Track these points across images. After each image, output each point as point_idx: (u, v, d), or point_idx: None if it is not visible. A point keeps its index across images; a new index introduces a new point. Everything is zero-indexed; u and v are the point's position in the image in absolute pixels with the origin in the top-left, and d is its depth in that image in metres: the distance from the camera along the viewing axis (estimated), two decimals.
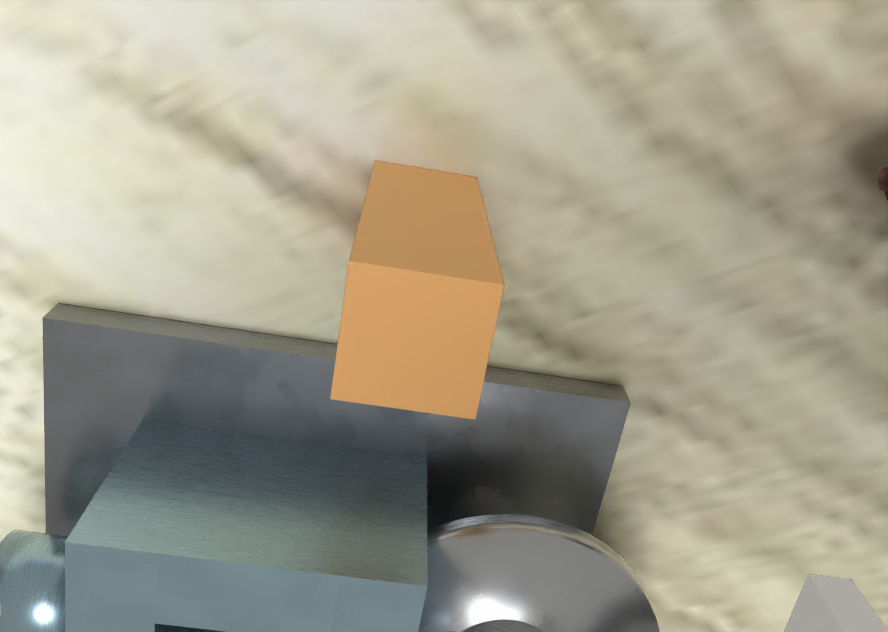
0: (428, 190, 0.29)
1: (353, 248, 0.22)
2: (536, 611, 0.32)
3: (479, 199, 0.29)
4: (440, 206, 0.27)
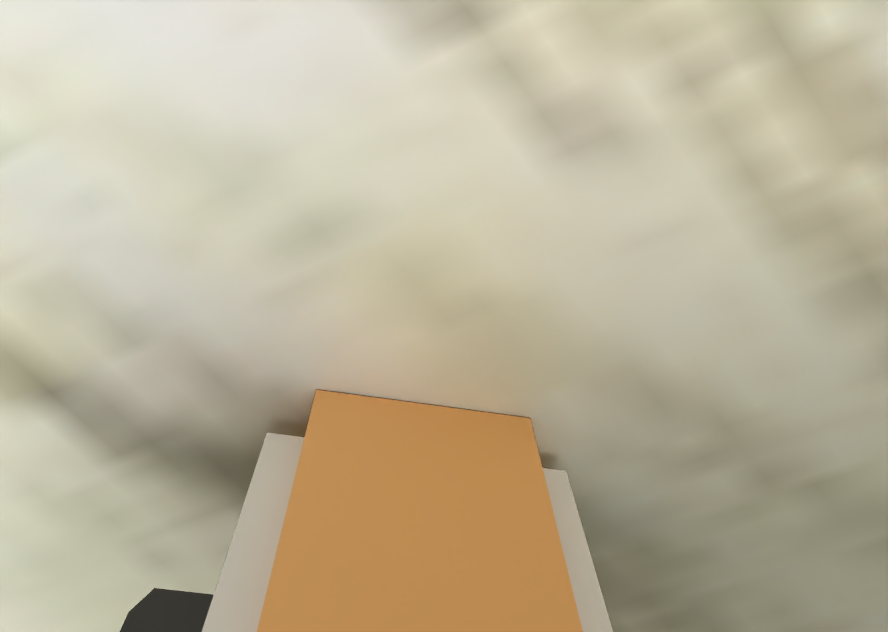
0: (430, 517, 0.12)
1: None
2: None
3: (552, 535, 0.12)
4: (463, 614, 0.10)
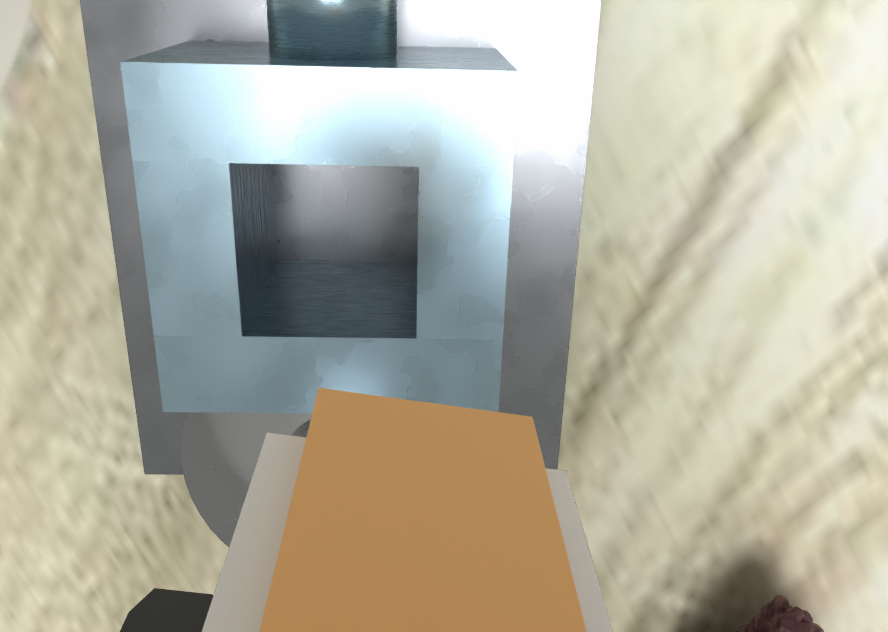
0: (433, 515, 0.12)
1: None
2: None
3: (555, 534, 0.12)
4: (466, 611, 0.10)
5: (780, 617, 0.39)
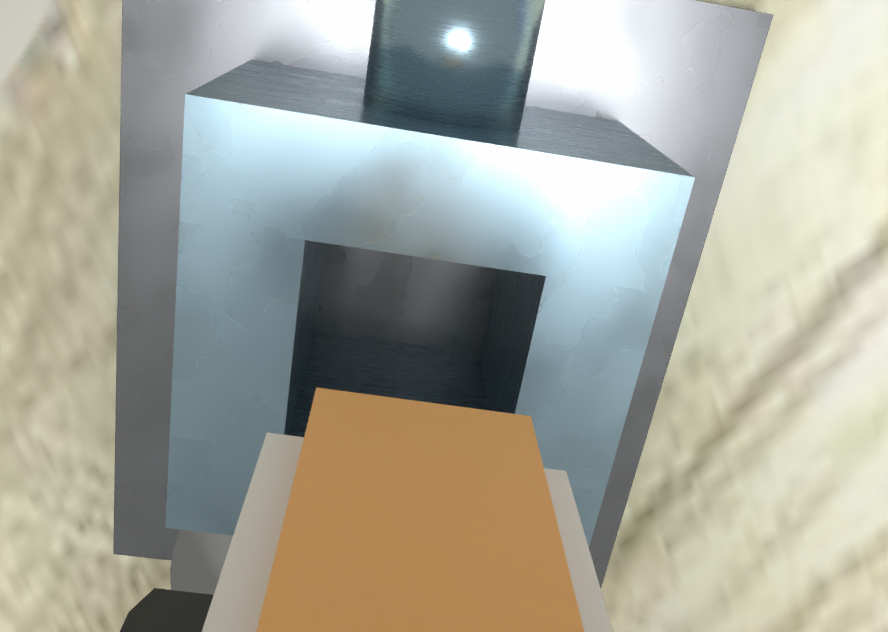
0: (431, 515, 0.12)
1: None
2: None
3: (553, 533, 0.12)
4: (464, 611, 0.10)
5: None
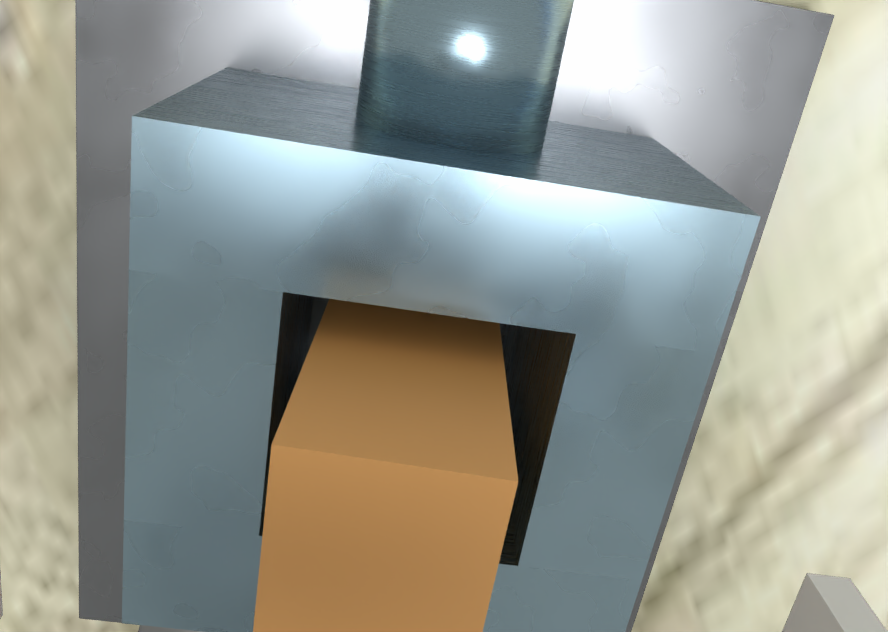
0: None
1: (286, 413, 0.14)
2: None
3: None
4: None
5: None
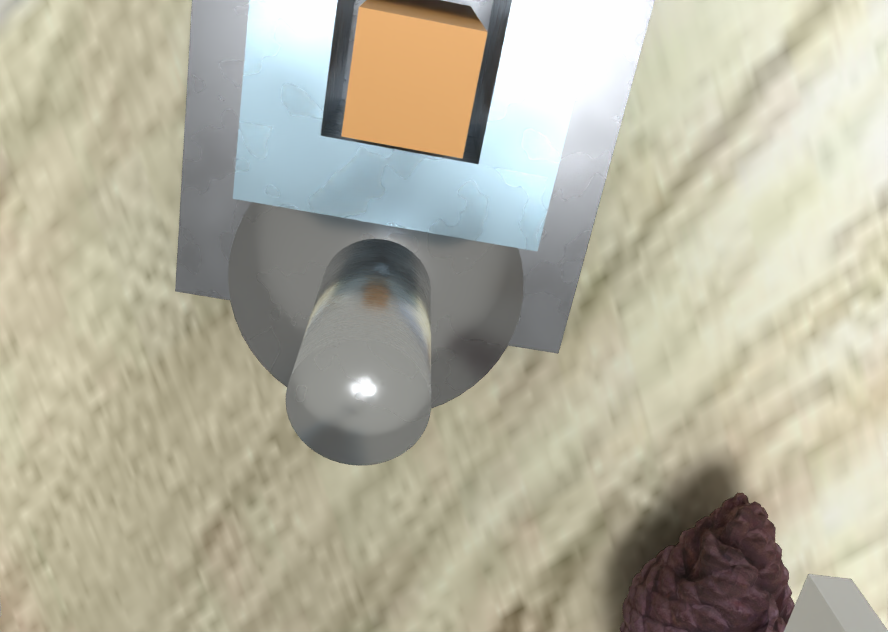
0: (427, 2, 0.33)
1: (362, 4, 0.26)
2: (438, 318, 0.37)
3: (471, 11, 0.33)
4: (437, 7, 0.31)
5: (740, 508, 0.43)
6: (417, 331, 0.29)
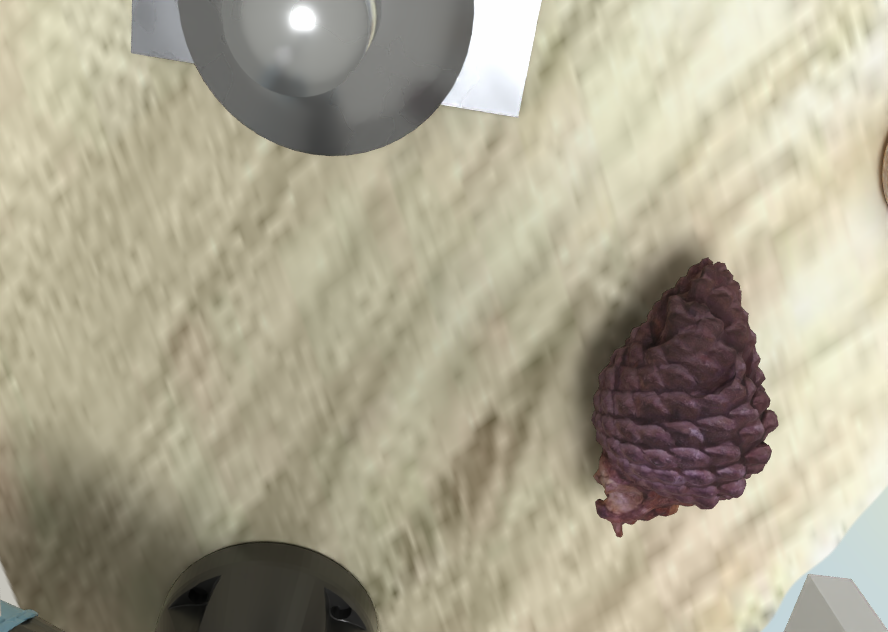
0: None
1: None
2: (390, 40, 0.37)
3: None
4: None
5: (704, 267, 0.43)
6: None
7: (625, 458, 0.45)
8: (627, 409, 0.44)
